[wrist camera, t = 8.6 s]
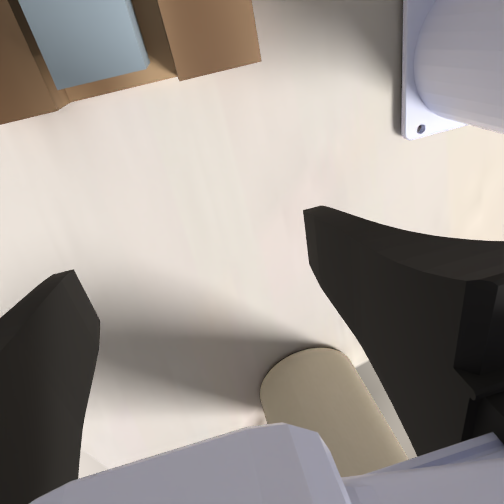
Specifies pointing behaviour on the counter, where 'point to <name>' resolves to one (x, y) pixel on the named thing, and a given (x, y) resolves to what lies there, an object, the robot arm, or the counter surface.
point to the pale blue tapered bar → (86, 39)
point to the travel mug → (331, 409)
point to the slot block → (156, 42)
